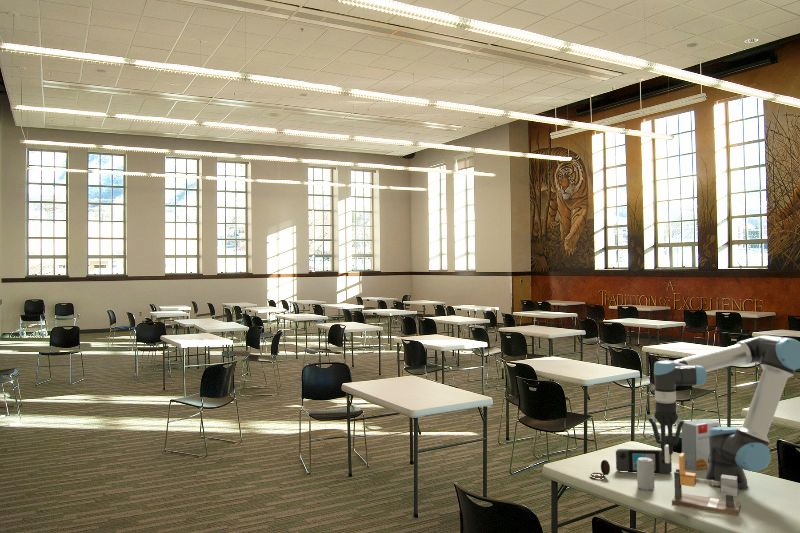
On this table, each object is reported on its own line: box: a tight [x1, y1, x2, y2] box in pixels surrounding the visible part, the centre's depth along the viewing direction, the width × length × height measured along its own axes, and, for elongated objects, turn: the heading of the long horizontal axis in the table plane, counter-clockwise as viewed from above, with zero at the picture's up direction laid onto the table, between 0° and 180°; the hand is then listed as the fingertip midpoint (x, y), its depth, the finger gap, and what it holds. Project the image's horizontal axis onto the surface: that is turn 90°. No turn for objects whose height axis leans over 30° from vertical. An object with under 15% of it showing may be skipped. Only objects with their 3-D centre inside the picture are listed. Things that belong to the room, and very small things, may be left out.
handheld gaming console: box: [615, 448, 673, 475], centre depth 265 cm, size 23×3×10 cm, turn 80°
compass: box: [590, 459, 611, 481], centre depth 259 cm, size 8×8×7 cm
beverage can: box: [636, 457, 655, 492], centre depth 246 cm, size 6×6×12 cm
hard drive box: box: [681, 418, 720, 471], centre depth 272 cm, size 16×8×20 cm, turn 114°
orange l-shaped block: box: [678, 452, 697, 488], centre depth 230 cm, size 5×5×11 cm
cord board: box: [671, 468, 741, 517], centre depth 226 cm, size 10×22×12 cm, turn 56°
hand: (667, 462), depth 234 cm, fingers closed
